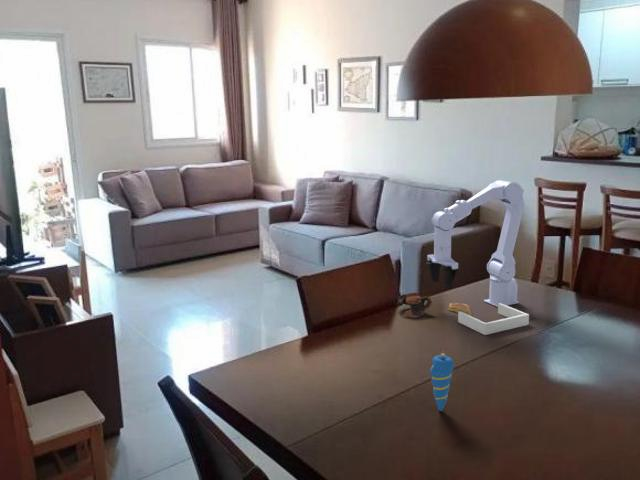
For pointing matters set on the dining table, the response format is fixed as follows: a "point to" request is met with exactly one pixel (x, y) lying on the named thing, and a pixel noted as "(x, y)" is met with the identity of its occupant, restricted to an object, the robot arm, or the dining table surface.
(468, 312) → the shard
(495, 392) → the dining table surface
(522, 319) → the box
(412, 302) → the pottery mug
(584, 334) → the dining table surface
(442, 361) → the ornament
